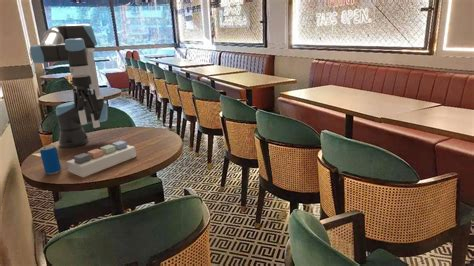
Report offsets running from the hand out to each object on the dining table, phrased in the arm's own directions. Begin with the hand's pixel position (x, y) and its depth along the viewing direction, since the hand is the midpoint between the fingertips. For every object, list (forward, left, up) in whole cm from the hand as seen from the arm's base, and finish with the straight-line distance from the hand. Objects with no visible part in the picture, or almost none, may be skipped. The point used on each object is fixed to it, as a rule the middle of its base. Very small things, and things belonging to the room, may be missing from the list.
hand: (90, 125), depth 149 cm
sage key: (0, +6, -15) cm, 16 cm away
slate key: (0, +13, -15) cm, 20 cm away
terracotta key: (0, 0, -15) cm, 15 cm away
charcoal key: (0, -7, -15) cm, 17 cm away
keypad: (0, +3, -20) cm, 20 cm away
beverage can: (-12, -15, -20) cm, 28 cm away
